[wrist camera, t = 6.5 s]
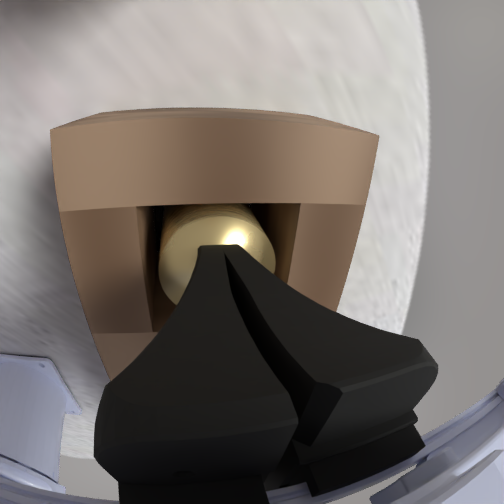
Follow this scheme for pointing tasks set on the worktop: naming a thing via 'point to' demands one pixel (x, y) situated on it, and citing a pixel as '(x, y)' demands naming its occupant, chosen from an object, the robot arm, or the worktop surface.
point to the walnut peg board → (202, 192)
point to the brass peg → (206, 239)
